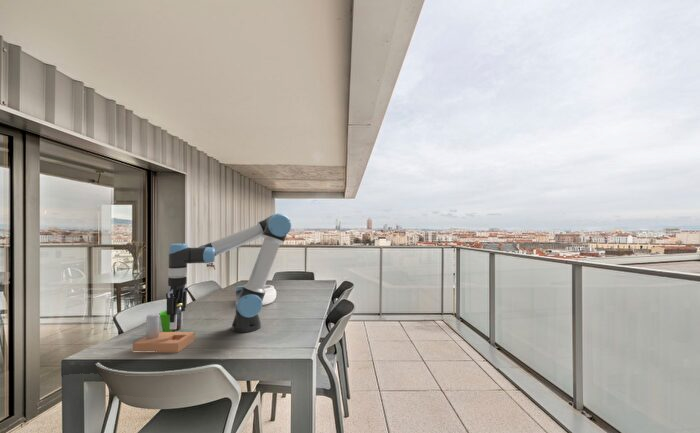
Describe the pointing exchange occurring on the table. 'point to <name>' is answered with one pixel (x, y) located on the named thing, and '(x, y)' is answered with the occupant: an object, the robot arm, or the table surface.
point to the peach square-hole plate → (162, 338)
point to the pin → (178, 316)
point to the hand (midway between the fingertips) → (176, 327)
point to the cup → (165, 321)
